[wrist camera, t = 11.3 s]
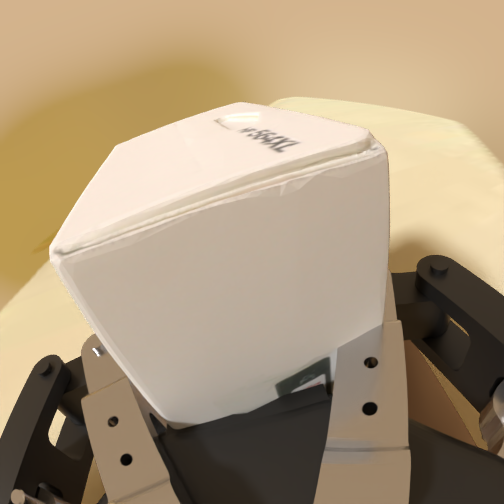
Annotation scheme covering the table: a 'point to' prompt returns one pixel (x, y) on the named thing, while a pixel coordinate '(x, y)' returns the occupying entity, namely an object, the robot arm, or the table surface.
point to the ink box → (231, 256)
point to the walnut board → (430, 398)
